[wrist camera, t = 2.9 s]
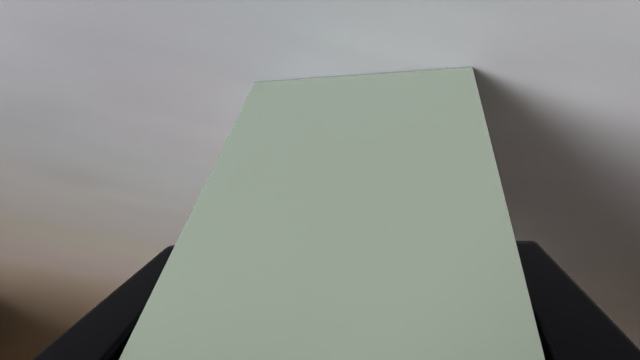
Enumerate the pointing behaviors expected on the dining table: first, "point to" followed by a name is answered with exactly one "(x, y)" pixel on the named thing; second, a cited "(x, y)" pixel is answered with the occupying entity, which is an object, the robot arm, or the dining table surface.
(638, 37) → the dining table surface
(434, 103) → the domino
